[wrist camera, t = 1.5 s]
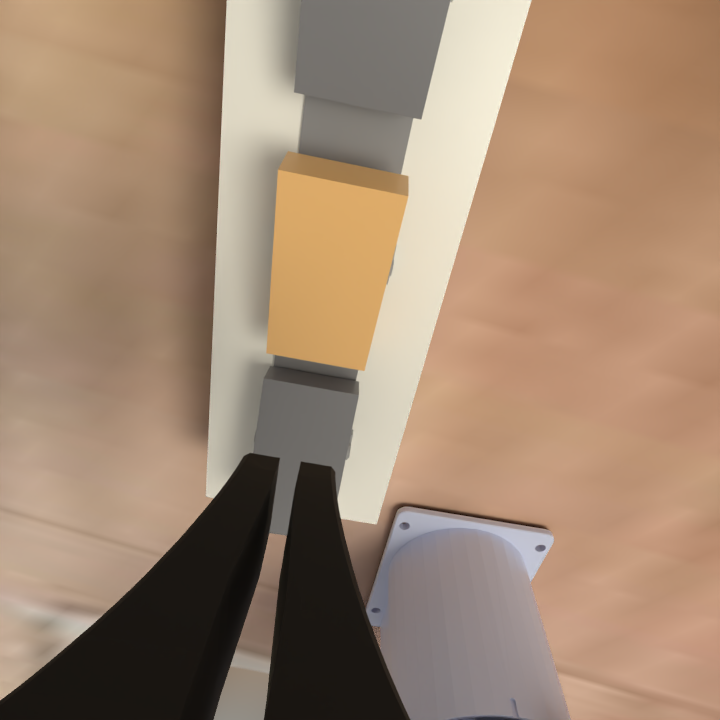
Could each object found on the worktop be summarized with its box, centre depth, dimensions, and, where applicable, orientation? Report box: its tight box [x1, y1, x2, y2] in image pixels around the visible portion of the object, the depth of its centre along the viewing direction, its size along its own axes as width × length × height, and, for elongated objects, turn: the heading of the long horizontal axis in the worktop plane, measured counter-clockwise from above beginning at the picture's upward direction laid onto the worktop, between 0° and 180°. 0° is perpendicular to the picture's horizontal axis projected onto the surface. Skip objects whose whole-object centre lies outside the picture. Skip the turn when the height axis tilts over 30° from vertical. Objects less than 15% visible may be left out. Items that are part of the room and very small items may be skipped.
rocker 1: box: [253, 366, 359, 535], centre depth 17 cm, size 6×3×1 cm, turn 169°
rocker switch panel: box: [206, 0, 531, 524], centre depth 14 cm, size 28×7×4 cm, turn 169°
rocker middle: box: [266, 151, 409, 371], centre depth 13 cm, size 6×3×1 cm, turn 169°
